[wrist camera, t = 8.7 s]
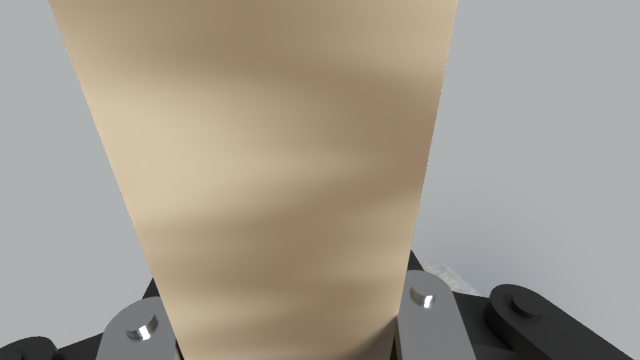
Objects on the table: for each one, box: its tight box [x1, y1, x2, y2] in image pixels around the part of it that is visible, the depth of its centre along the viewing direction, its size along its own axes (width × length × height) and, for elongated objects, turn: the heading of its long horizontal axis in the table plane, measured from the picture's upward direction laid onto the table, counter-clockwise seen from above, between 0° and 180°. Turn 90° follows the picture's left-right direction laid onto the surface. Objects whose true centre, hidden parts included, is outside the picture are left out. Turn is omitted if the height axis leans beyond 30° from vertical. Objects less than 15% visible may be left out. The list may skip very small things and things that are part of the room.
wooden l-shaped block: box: [49, 0, 458, 360], centre depth 9 cm, size 4×7×18 cm, turn 8°
